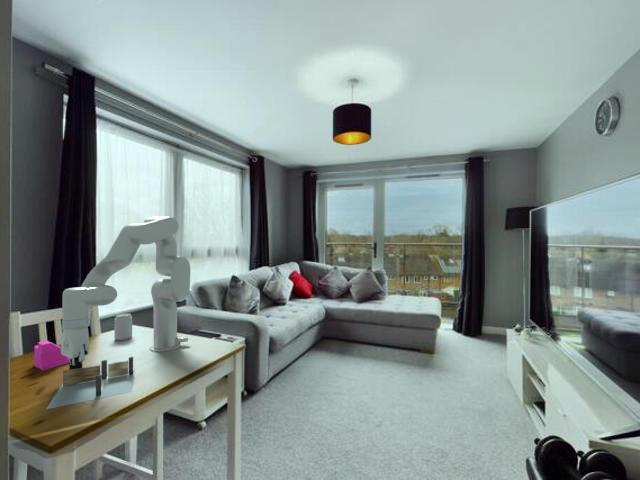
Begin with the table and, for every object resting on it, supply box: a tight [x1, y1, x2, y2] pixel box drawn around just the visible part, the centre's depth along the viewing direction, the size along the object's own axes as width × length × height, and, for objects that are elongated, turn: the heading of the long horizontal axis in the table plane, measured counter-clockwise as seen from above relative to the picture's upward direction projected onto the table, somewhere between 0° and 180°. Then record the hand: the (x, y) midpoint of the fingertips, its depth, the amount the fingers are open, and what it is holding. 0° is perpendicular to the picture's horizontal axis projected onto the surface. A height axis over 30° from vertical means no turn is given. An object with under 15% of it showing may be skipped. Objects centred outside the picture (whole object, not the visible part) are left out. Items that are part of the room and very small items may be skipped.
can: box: [113, 313, 133, 341], centre depth 151 cm, size 8×8×12 cm
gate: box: [62, 364, 101, 386], centre depth 103 cm, size 10×1×5 cm, turn 119°
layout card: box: [46, 369, 135, 410], centre depth 100 cm, size 21×18×1 cm
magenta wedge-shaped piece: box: [33, 340, 69, 371], centre depth 121 cm, size 12×10×10 cm
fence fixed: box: [96, 356, 134, 396], centre depth 102 cm, size 10×14×6 cm
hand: (75, 375), depth 106 cm, fingers closed
